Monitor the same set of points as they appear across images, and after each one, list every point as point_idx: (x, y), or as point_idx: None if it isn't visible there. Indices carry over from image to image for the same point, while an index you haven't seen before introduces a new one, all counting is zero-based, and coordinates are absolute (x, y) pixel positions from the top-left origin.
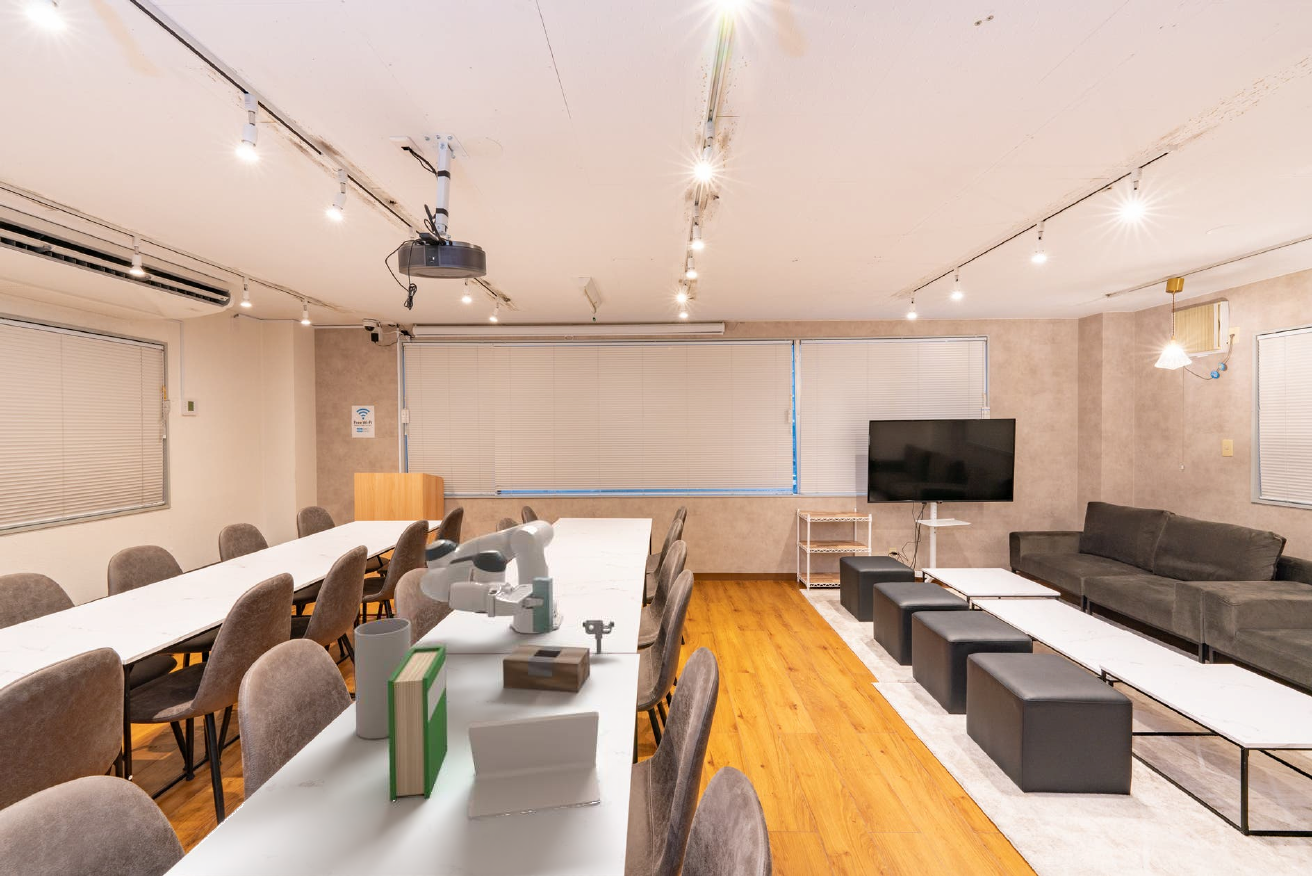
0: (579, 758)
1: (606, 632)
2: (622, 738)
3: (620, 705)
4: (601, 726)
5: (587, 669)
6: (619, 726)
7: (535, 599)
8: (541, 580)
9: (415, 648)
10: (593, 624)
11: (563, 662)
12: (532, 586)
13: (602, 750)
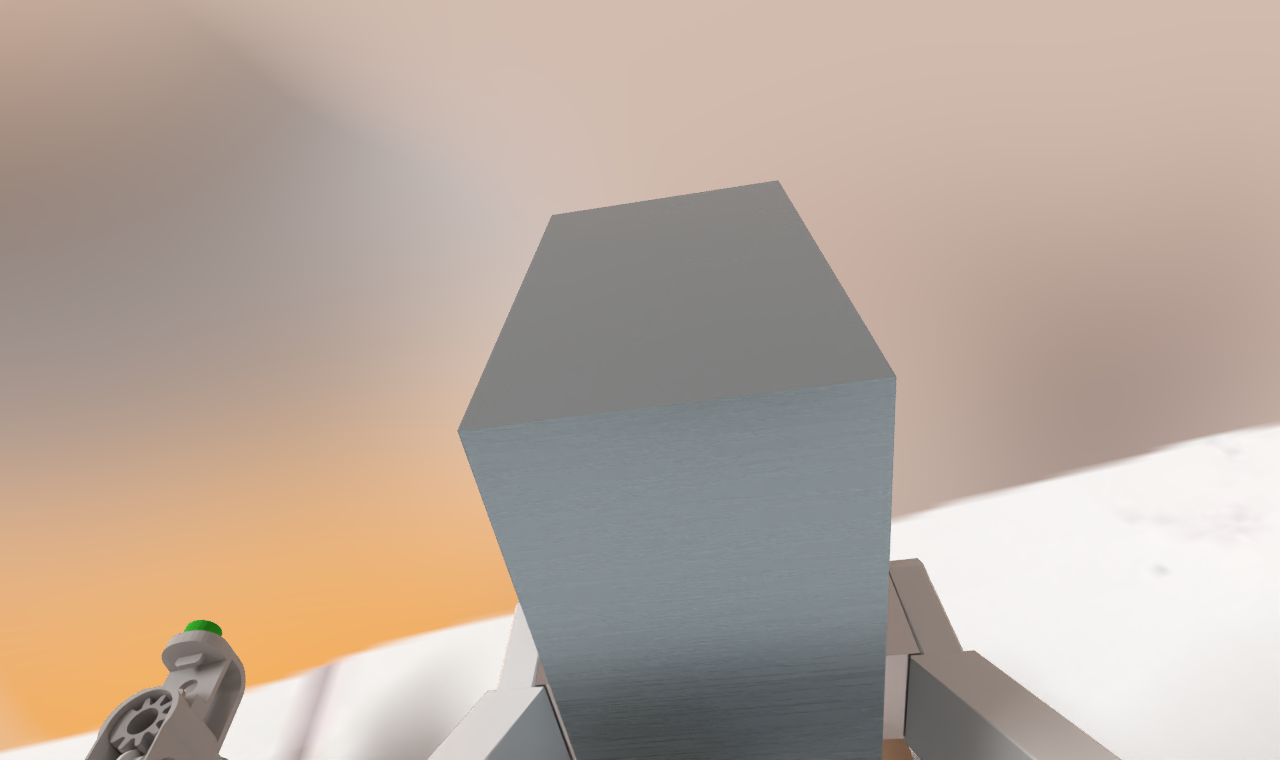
0: None
1: (221, 704)
2: (1133, 463)
3: (903, 534)
4: (1114, 540)
5: None
6: (1063, 492)
7: (978, 659)
8: (809, 241)
9: None
10: (160, 752)
11: (894, 739)
12: (883, 578)
13: (1266, 487)
